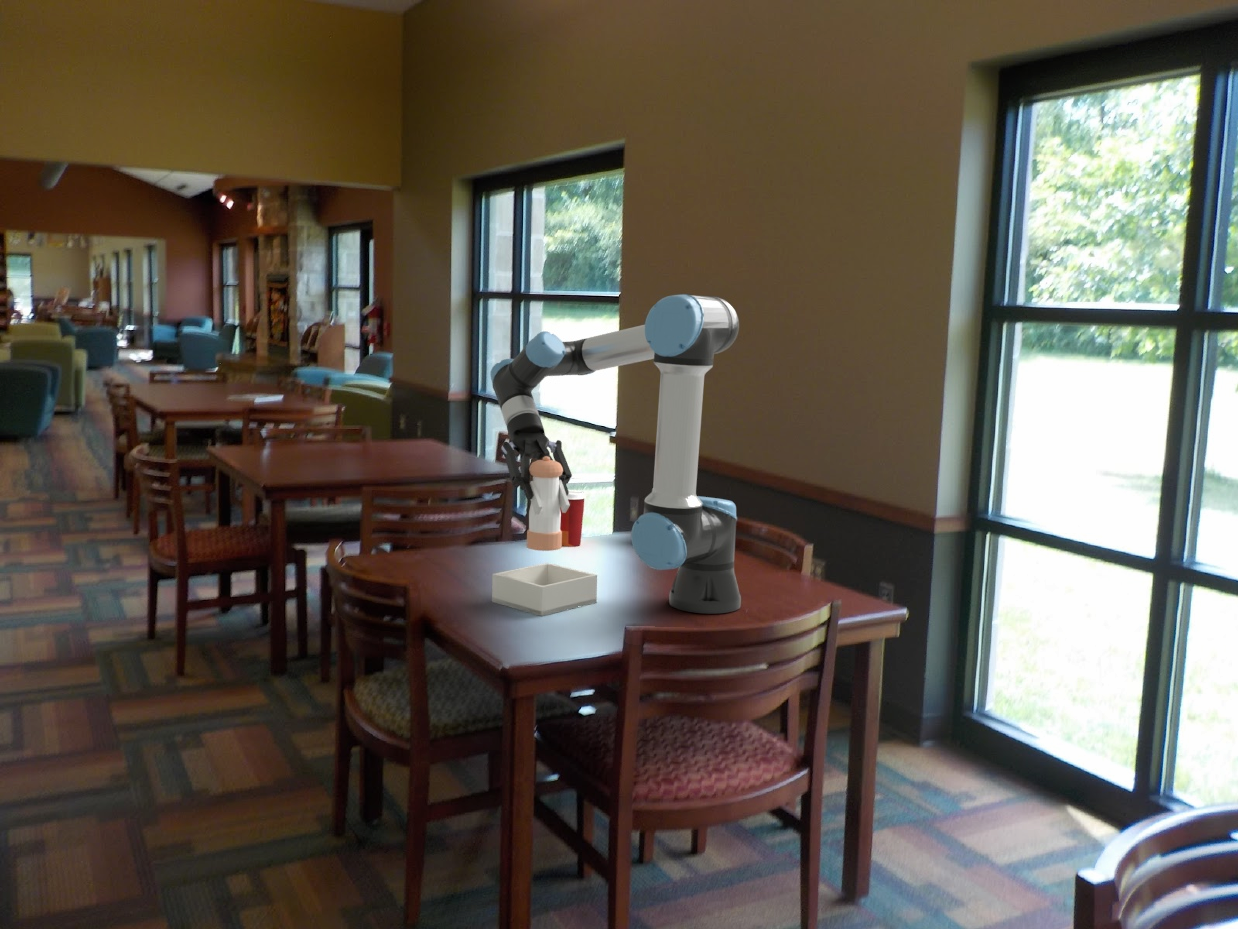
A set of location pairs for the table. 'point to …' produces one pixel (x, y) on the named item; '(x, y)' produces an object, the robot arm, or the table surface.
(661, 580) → the table surface
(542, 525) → the salt shaker
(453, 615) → the table surface
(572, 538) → the paper cup
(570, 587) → the bin
